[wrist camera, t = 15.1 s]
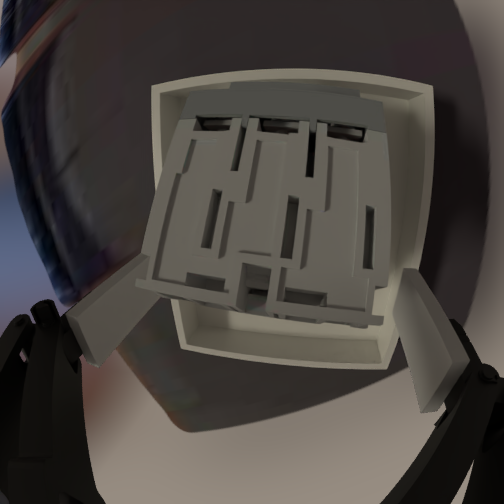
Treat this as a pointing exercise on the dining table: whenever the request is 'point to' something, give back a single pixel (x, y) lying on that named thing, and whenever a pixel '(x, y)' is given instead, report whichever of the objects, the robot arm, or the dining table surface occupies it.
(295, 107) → the circuit breaker
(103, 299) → the robot arm
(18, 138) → the dining table surface
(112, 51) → the dining table surface
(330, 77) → the parts tray
